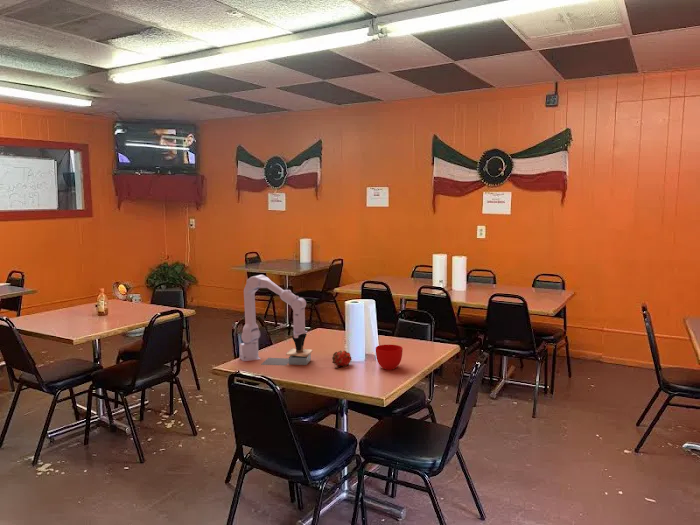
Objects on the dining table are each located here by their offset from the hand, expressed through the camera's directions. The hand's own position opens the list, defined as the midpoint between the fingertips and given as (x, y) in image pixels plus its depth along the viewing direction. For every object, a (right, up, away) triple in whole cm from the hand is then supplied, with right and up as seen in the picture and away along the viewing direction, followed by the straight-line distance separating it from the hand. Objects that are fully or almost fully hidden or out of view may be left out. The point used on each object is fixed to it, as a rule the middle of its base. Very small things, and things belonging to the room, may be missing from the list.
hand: (299, 349), depth 273 cm
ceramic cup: (+45, -8, -8) cm, 46 cm away
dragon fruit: (+21, -8, -5) cm, 23 cm away
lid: (0, -2, 0) cm, 2 cm away
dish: (0, -7, +1) cm, 7 cm away
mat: (-12, -7, +2) cm, 14 cm away
